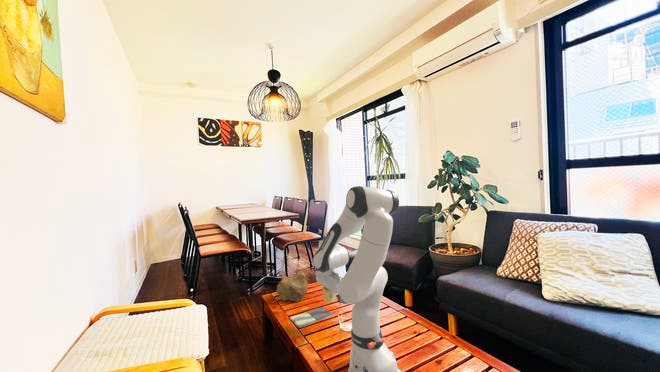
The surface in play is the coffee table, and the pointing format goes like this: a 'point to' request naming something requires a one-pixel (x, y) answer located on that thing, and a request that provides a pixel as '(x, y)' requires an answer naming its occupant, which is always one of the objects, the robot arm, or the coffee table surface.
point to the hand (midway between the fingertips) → (329, 296)
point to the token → (328, 295)
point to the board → (311, 317)
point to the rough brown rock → (293, 287)
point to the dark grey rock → (341, 299)
